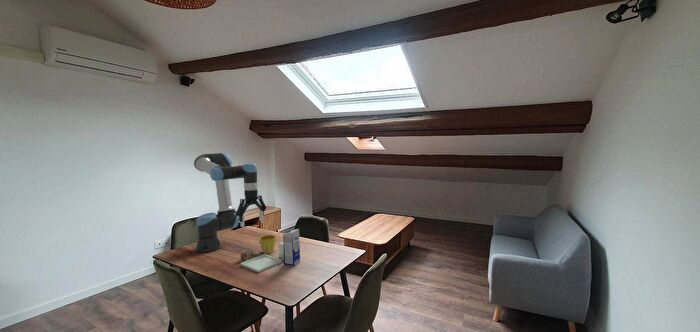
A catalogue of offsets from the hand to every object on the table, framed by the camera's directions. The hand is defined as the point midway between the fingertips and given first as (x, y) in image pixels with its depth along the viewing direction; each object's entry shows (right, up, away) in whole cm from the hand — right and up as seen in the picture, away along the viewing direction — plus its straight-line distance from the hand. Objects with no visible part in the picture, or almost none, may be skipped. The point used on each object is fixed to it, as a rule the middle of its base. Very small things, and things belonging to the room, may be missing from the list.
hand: (252, 223), depth 176 cm
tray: (+7, -22, -6) cm, 24 cm away
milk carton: (+25, -22, -5) cm, 34 cm away
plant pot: (+6, -21, +12) cm, 25 cm away
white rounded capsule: (+19, -21, +3) cm, 29 cm away
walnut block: (-4, -22, +1) cm, 22 cm away
